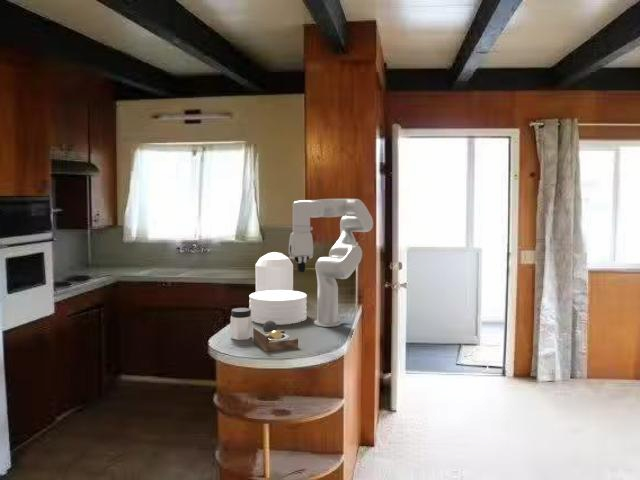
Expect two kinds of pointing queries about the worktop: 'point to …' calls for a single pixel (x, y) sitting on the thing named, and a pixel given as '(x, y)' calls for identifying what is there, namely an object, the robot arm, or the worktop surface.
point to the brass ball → (275, 335)
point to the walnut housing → (264, 343)
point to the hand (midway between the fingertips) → (301, 271)
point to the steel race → (280, 339)
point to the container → (274, 272)
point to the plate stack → (278, 306)
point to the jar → (241, 323)
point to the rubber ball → (269, 326)
